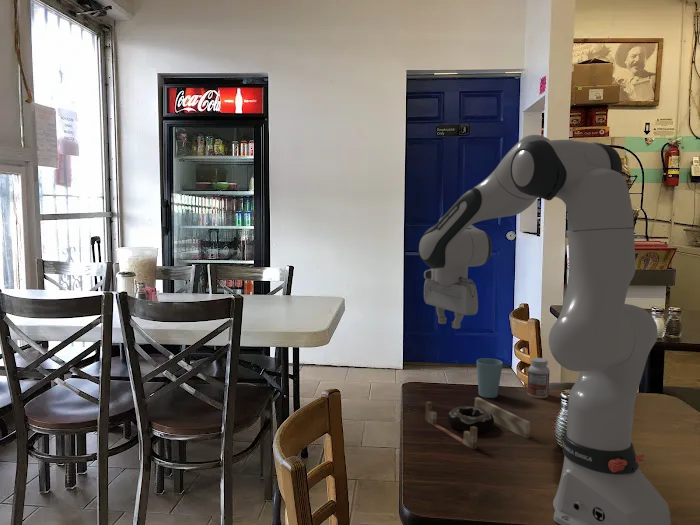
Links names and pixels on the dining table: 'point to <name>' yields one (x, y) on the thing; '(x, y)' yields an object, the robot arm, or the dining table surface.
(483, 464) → the dining table surface
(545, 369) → the pill bottle
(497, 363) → the cup
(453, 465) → the dining table surface
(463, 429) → the donut
